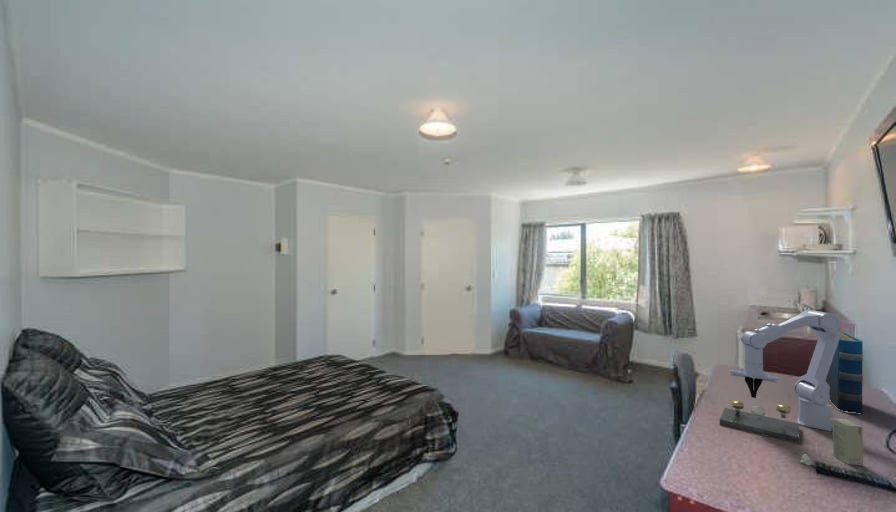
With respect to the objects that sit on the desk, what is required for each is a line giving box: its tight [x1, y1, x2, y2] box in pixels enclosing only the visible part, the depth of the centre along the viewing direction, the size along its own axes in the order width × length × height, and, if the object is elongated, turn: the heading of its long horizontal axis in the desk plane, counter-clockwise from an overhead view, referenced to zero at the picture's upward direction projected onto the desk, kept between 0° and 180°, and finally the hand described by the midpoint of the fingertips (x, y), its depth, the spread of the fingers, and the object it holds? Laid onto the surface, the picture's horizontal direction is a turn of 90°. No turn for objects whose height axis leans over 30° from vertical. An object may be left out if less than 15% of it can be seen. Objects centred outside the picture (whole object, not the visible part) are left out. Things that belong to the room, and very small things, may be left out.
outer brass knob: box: [730, 399, 745, 413], centre depth 157 cm, size 4×4×4 cm
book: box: [826, 331, 864, 413], centre depth 170 cm, size 24×9×30 cm, turn 148°
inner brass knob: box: [775, 403, 791, 419], centre depth 148 cm, size 4×4×4 cm
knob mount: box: [719, 407, 800, 444], centre depth 149 cm, size 23×15×2 cm, turn 48°
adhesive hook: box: [799, 453, 815, 466], centre depth 123 cm, size 3×3×3 cm
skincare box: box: [832, 417, 864, 466], centre depth 125 cm, size 6×4×12 cm
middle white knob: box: [750, 405, 766, 420], centre depth 146 cm, size 4×4×4 cm
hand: (753, 397), depth 154 cm, fingers closed
